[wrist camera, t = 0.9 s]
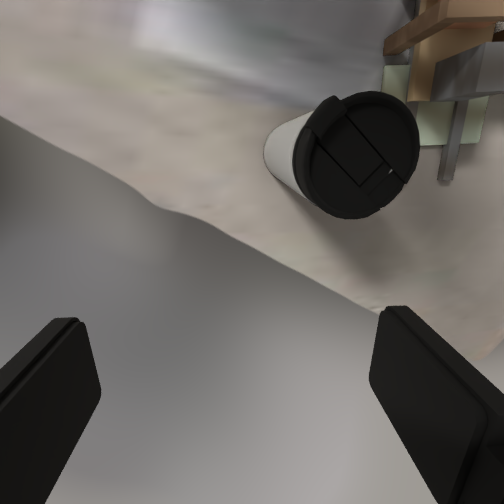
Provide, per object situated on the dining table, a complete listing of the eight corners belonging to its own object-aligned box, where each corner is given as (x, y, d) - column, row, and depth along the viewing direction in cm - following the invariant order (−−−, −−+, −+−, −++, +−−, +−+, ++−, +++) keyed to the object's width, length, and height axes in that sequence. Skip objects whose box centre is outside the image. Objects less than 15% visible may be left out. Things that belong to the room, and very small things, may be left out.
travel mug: (287, 107, 31) (372, 46, 12) (328, 150, 32) (457, 155, 14) (249, 153, 32) (271, 162, 13) (290, 191, 34) (361, 247, 15)
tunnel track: (409, -205, 23) (518, -419, 14) (554, -203, 24) (744, -410, 15) (369, 183, 34) (416, 195, 25) (468, 177, 35) (548, 188, 26)
